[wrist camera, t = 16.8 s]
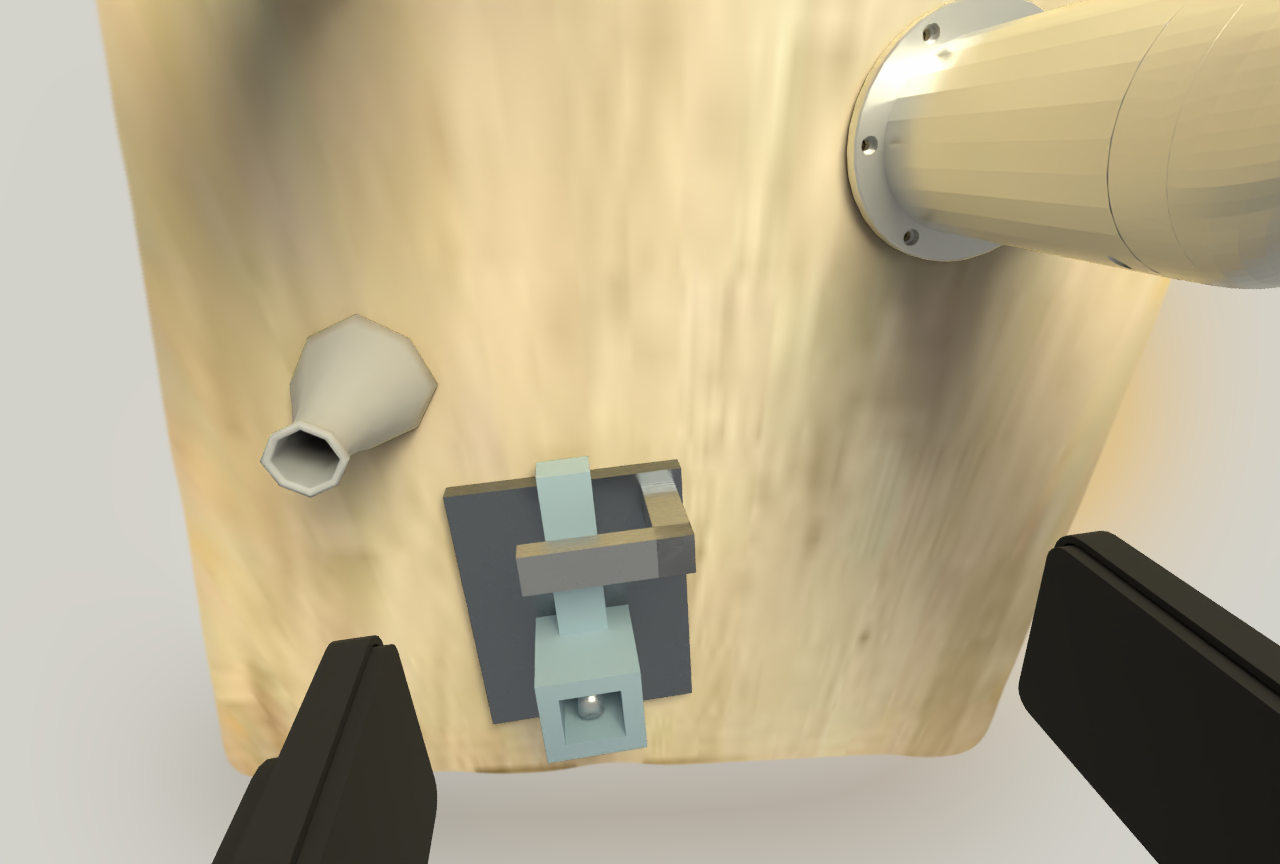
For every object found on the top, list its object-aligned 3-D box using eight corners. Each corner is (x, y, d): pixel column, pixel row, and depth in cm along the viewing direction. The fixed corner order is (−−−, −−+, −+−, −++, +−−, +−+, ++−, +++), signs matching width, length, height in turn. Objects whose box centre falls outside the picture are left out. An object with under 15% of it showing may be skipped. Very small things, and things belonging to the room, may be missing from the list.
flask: (354, 288, 33) (283, 338, 24) (462, 382, 36) (434, 459, 27) (266, 381, 35) (166, 463, 26) (376, 466, 37) (322, 566, 28)
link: (634, 674, 45) (647, 746, 39) (547, 687, 44) (548, 763, 39) (613, 453, 38) (625, 503, 32) (510, 465, 37) (503, 519, 32)
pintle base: (677, 459, 40) (703, 519, 33) (688, 680, 47) (711, 765, 40) (446, 487, 38) (425, 556, 32) (494, 710, 46) (486, 803, 39)
